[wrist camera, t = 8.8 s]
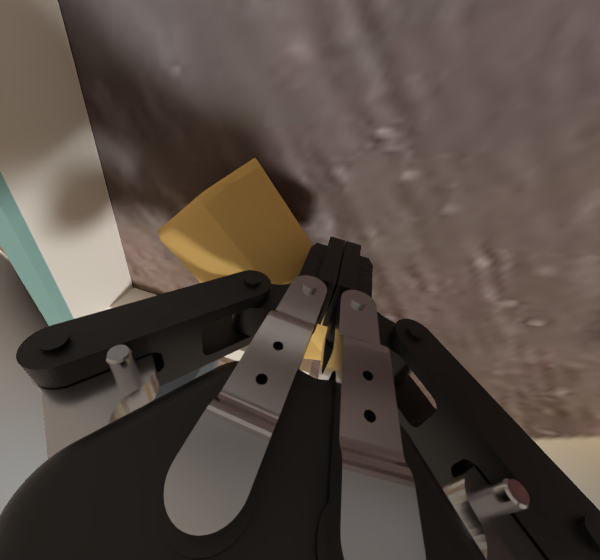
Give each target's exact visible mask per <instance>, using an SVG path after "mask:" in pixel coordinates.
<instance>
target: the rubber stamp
mask: <svg viewBox="0 0 600 560" xmlns="http://www.w3.org/2000/svg"><path fill="white" fill-rule="evenodd" d="M158 233H159V237H160V240H161V241H162V242H163V243H164V244H165V245H166V246H167V247H168V248H169V249H170V251H171V252H172V253H173V254H174V255H175V256H176V257H177V258H178V259H179V260H180V261H181V262H182V263H183V264H184V266H185V267H186V268H187V269H188V270H189V271H190V272H191V273H192V274H193V275H194V276H195V277H196V278H197V279H198V281H199V282H200V283H203V282H206V281H210V280H213V279H217V278H221V277H224V276H228V275H231V274H235V273H238V272H242V271H246V270H254V271H259V272H262V273H264V274H265V275H267V276H268V277H269V279H270V281H271V284H279V285H284V284H290V283H292V281H293V280H294V279H295V278H296V277H298V276H299V274H300V272H301V269H302V267H303V265H304V262H305V260H306V257H307V255H308V253H309V250H310V248H311V247H312V246H313V244H312V243H311V241H310V240H309V238H308V237H307V235H306V234H305V232H304V231H303V229H302V228H301V226H300V225H299V223H298V222H297V220H296V218H295V217H294V215H293V214H292V212H291V211H290V209H289V208H288V206H287V205H286V203H285V202H284V200H283V199H282V197H281V196H280V194H279V193H278V191H277V189H276V188H275V186H274V185H273V183H272V182H271V180H270V179H269V177H268V176H267V174H266V173H265V171H264V170H263V168H262V167H261V165H260V164H259V162H258V161H257V159H256V158H253V159H252V160H250V161H249V162H247V163H246V164H244V165H243V166H241V167H240V168H238V169H237V170H235V171H234V172H232V173H231V174H229V175H227V176H226V177H224V178H223V179H221V180H220V181H218V182H217V183H215V184H214V185H212V186H211V187H209V188H208V189H206V190H205V191H203V192H202V193H201V194H200V195H198V196H197V197H196V198H195V199H194V200H193V201H191V202H190V203H189V204H188V205H187V206H186V207H185V208H183V209H182V210H181V211H180V212H179V213H178V214H176V215H175V216H174V217H173V218H172V219H171V220H170V221H168V222H167V223H166V224H165V225H164V226H163V227H161V228H160V229H159V230H158ZM323 319H324V317H323ZM322 324H323V320H322V323H321V325H319V324H317V327H316V330H315V332H314V334H312V336H311V339H310V342H309V344H308V347H307V350H306V352H305V355H304V358H305V359H313V360H321V353H322V344H323V340H324V337H325V335H326V332H327V327H326V326H323V325H322ZM218 361H219V359H218V360H216V361H214V362H212V363H209V364H207V365H205V366H203V367H201V368H199V369H197V370H195V371H192V372H190V373H188V374H186V375H184V376H182V377H180V378H178V379H175V380H173V381H171V382H169V383H167V384H165V385H163V386H161V387H159V391H158V393H157V395H156V397H155V398H154V399H153V401H154V400H155V399H157V398H159V397H161V396H163V395H165V394H167V393H169V392H171V391H173V390H174V389H176V388H178V387H180V386H182V385H184V384H186V383H188V382H190V381H192V380H194V379H195V378H197V377H199V376H201V375H203V374H205V373H207V372H209V371H211V370H212V369H214V368H216V367H217V364H218Z"/></svg>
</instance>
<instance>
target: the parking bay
mask: <svg viewBox="0 0 600 560" xmlns="http://www.w3.org/2000/svg"><path fill="white" fill-rule="evenodd" d="M0 245H1V247H2V249H3V250H4V252H5V254H6V255H7V257H8V259H9V260H10V262H11V264H12V265H13V267H14V269H15V270H16V272H17V274H18V275H19V277H20V279H21V280H22V282H23V283H24V285H25V287H26V288H27V290H28V292H29V293H30V295H31V297H32V298H33V300H34V302H35V303H36V305H37V306H38V308H39V310H40V312H41V313H42V315H43V316H44V318H45V320H46V321H47V323H48V325H49V326H51V325H54V324H58V323H61V322H65V321H68V320H72V319H75V318H79V317H83V316H86V315H90V314H93V313H97V312H100V311H104V310H107V309H111V308H114V307H118V306H121V305H125V304H129V303H132V302H136V301H139V300H143V299H146V298H150V297H153V296H157V295H156V294H153V293H149V292H146V291H143V290H140V289H137V288H134V287H133V285H132V282H131V278H130V274H129V270H128V266H127V263H126V259H125V255H124V251H123V247H122V244H121V240H120V236H119V232H118V228H117V224H116V221H115V217H114V213H113V209H112V205H111V202H110V198H109V194H108V190H107V186H106V182H105V179H104V175H103V171H102V167H101V163H100V160H99V156H98V152H97V148H96V144H95V140H94V137H93V133H92V129H91V125H90V121H89V118H88V114H87V110H86V106H85V102H84V99H83V95H82V91H81V87H80V83H79V79H78V76H77V72H76V68H75V64H74V60H73V57H72V53H71V49H70V45H69V41H68V37H67V34H66V30H65V26H64V22H63V18H62V15H61V11H60V7H59V3H58V0H0ZM248 346H249V345H248ZM248 346H246V347H243V348H241V349H239V350H237V351H235V352H233V353H231V354H229V355H226V356H224V357H227V358H230V359H233V360H236V361H240V359H241V357H242V356H243V354H244V353H245V351H246V349H247V348H248ZM312 360H313V359H305V358H303V360H302V363H301V366H300V368H299V369H300V370H301V371H303V372H305V373H306V374H308V375H309V373H310V369H311V364H312Z"/></svg>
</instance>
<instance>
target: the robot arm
mask: <svg viewBox="0 0 600 560" xmlns="http://www.w3.org/2000/svg"><path fill="white" fill-rule="evenodd" d="M344 244H345V245H344ZM360 250H361V245H358V244H355V243H351V242H348V241H346V242H345V240H341V239H338V238H335V237H330V240H329V244H328V246H326V245H322V244H319V243H316V244H315V245H313V246H312V247H311V248H310V250H309V253H308V255H307V257H306V260H305V262H304V265H303V267H302V269H301V272H300V274H299V276H298V277H296V278H295V279H294V280H293V281H292V283H290V284H284V285H279V284H271V281H270V279H269V277H268V276H267V275H265V274H264V273H262V272H259V271H254V270H246V271H242V272H238V273H235V274H231V275H228V276H224V277H221V278H217V279H213V280H210V281H206V282H203V283H199V284H196V285H192V286H189V287H185V288H182V289H178V290H175V291H171V292H167V293H164V294H160V295H157V296H153V297H150V298H146V299H143V300H139V301H136V302H132V303H129V304H125V305H121V306H118V307H114V308H111V309H107V310H104V311H100V312H97V313H93V314H90V315H86V316H83V317H79V318H75V319H72V320H68V321H65V322H61V323H58V324H54V325H51V326H48V327H45V328H43V329H41V330H39V331H37V332H35V333H34V334H32V335H31V336H29V337H28V338H27V339H26V340H25V341H24V342H23V343H22V344H21V345H20V347H19V348H18V351H17V354H16V359H17V361H18V363H19V364H20V365H21V366H22V367H23V369H24V370H25V371H26V372H27V373H28V374H29V376H30V377H31V380H32V382H33V384H34V385H35V386H36V387H37V388H38V389H39V391H40V392H41V393H42V399H43V410H44V420H45V431H46V441H47V453H48V460H47V461H46V462H45V463H43V464H42V465H41V466H40V467H38V468H37V469H36V470H35V471H34V472H33V473H32V474H31V475H30V476H29V477H28V478H27V479H26V480H25V482H24V483H23V484H22V485H21V486H20V488H19V489H18V490H17V491H16V493H14V495H13V497H12V498H11V499H10V501H9V502H8V504H7V505H6V506H5V508H4V510H3V512H2V513H1V515H0V560H600V511H599V510H598V509H597V508H596V506H595V505H594V504H593V503H592V502H591V501H590V500H589V499H588V498H587V497H586V496H585V495H584V494H583V493H582V492H581V491H580V490H579V489H578V488H577V486H576V485H575V484H574V483H573V482H572V481H571V480H570V479H569V478H568V477H567V476H566V475H565V474H564V473H563V472H562V471H561V470H560V468H559V467H558V466H557V465H556V464H555V463H554V462H553V461H552V460H551V459H550V458H549V457H548V456H547V455H546V454H545V453H544V452H543V451H542V449H541V448H540V447H539V446H538V445H537V444H536V443H535V442H534V441H533V440H532V439H531V438H530V437H529V436H528V435H527V434H526V433H525V432H524V430H523V429H522V428H521V427H520V426H519V425H518V424H517V423H516V422H515V421H514V420H513V419H512V418H511V417H510V416H509V415H508V414H507V413H506V411H505V410H504V409H503V408H502V407H501V406H500V405H499V404H498V403H497V402H496V401H495V400H494V399H493V398H492V397H491V396H490V395H489V394H488V392H487V391H486V390H485V389H484V388H483V387H482V386H481V385H480V384H479V383H478V382H477V381H476V380H475V379H474V378H473V377H472V376H471V375H470V373H469V372H468V371H467V370H466V369H465V368H464V367H463V366H462V365H461V364H460V363H459V362H458V361H457V360H456V359H455V358H454V357H453V356H452V354H451V353H450V352H449V351H448V350H447V349H446V348H445V347H444V346H443V345H442V344H441V343H440V342H439V341H438V340H437V339H436V338H435V337H434V336H433V334H432V333H431V332H430V331H429V330H428V329H427V328H426V327H424V326H423V325H422V324H420V323H418V322H416V321H414V320H410V319H401V320H399V321H398V322H397V323H396V324H395V323H394V322H392V321H390V320H388V319H387V318H385V317H383V316H382V315H381V314H380V313H378V312H377V307H376V303H375V302H374V300H373V299H372V269H373V265H372V264H371V262H370V260H369V258H366V257H362V256H360ZM323 317H324V319H323ZM322 320H323V324H322V325H323V326H326V327H327V332H326V335H325V337H324V340H323V344H322V353H321V361H320V369H319V378H318V379H315V378H313V377H311V376H309V375H308V374H306V373H305V372H303V371H301V370H300V369H299V368H300V366H301V363H302V360H303V358H304V355H305V352H306V350H307V347H308V344H309V342H310V339H311V336H312V334H314V332H315V330H316V327H317V324H319V325H321V323H322ZM248 345H249V346H248ZM246 346H248V348H247V349H246V351H245V353H244V354H243V356H242V357H241V359H240V361H234V362H230V363H226V364H224V365H221V366H219V367H216V368H214V369H212V370H211V371H209V372H207V373H205V374H203V375H201V376H199V377H197V378H195V379H194V380H192V381H190V382H188V383H186V384H184V385H182V386H180V387H178V388H176V389H174V390H173V391H171V392H169V393H167V394H165V395H163V396H161V397H159V398H157V399H155V400H154V401H153V399H154V398H155V397H156V395H157V393H158V391H159V387H161V386H163V385H165V384H167V383H169V382H171V381H173V380H175V379H178V378H180V377H182V376H184V375H186V374H188V373H190V372H192V371H195V370H197V369H199V368H201V367H203V366H205V365H207V364H209V363H212V362H214V361H216V360H218V359H220V358H222V357H224V356H226V355H229V354H231V353H233V352H235V351H237V350H239V349H241V348H243V347H246ZM412 371H413V373H414V374H415V375H416V376H417V378H418V379H419V380H420V381H421V383H422V384H423V385H424V386H425V388H426V389H427V390H428V392H429V393H430V394H431V395H432V397H433V398H434V400H435V402H436V406H437V410H436V409H435V408H434V407H433V405H432V404H431V403H430V402H429V400H428V399H427V398H426V396H425V395H424V394H423V392H422V391H421V390H420V389H419V387H418V386H417V385H416V383H415V382H414V381H413V379H412V378H411V377H410V376H409V375H410V374H411V372H412Z"/></svg>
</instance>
